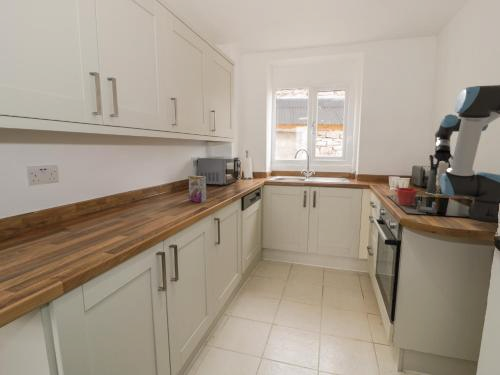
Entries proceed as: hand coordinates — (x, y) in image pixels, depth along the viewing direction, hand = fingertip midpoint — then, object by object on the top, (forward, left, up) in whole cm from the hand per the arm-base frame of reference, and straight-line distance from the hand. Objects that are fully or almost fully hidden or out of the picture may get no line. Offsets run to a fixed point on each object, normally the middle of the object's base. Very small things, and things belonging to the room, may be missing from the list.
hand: (442, 178), depth 151 cm
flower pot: (+17, +6, -18) cm, 26 cm away
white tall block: (+3, -3, -4) cm, 6 cm away
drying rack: (0, +9, -18) cm, 20 cm away
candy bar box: (+59, +131, -18) cm, 145 cm away
